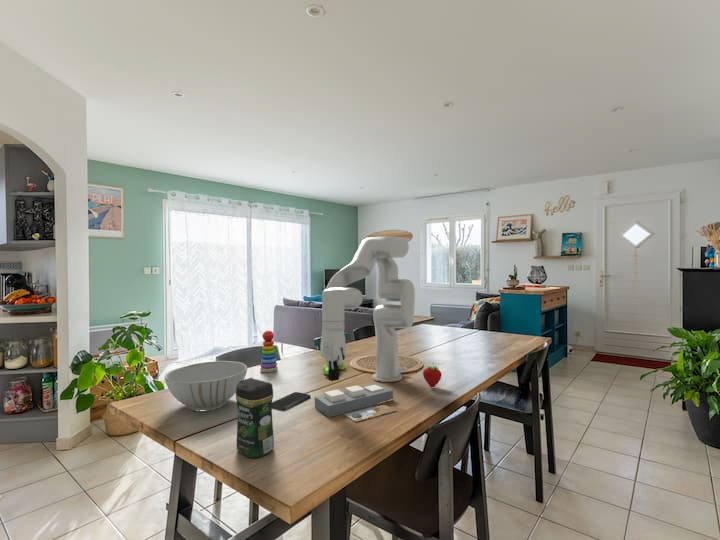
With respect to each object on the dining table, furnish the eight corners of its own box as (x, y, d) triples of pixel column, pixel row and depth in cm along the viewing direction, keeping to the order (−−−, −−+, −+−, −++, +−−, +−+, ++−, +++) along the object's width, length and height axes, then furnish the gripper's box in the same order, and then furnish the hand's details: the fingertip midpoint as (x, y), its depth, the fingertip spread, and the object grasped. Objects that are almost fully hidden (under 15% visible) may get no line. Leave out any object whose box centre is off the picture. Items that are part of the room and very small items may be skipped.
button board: (376, 392, 140) (376, 383, 140) (393, 400, 132) (393, 390, 132) (314, 407, 126) (314, 396, 126) (328, 417, 118) (328, 405, 118)
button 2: (375, 394, 137) (375, 384, 137) (383, 397, 132) (383, 388, 132) (364, 396, 134) (363, 387, 134) (371, 400, 130) (371, 390, 130)
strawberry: (426, 383, 149) (426, 359, 149) (444, 387, 145) (444, 362, 145) (420, 387, 145) (419, 362, 144) (438, 391, 140) (437, 365, 140)
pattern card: (384, 404, 128) (384, 403, 128) (397, 411, 122) (397, 409, 122) (344, 415, 119) (344, 413, 119) (356, 422, 113) (356, 421, 113)
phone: (311, 395, 136) (283, 408, 123) (311, 398, 136) (283, 412, 123) (295, 391, 140) (266, 404, 127) (295, 394, 140) (266, 407, 127)
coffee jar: (231, 451, 97) (230, 380, 96) (256, 439, 103) (255, 373, 103) (254, 462, 91) (253, 387, 91) (279, 449, 97) (278, 379, 97)
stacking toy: (281, 369, 173) (280, 330, 173) (268, 374, 166) (267, 332, 166) (269, 367, 177) (268, 328, 177) (256, 371, 170) (255, 331, 170)
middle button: (357, 394, 132) (356, 385, 132) (364, 398, 128) (364, 388, 128) (345, 397, 130) (344, 387, 130) (352, 402, 125) (352, 391, 125)
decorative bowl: (210, 425, 113) (210, 386, 113) (146, 414, 122) (145, 378, 122) (262, 396, 138) (262, 363, 138) (206, 388, 147) (205, 358, 147)
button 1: (337, 399, 128) (337, 389, 128) (344, 403, 124) (344, 393, 124) (324, 402, 125) (324, 392, 125) (331, 407, 121) (331, 396, 121)
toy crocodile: (334, 378, 159) (333, 364, 159) (319, 377, 161) (319, 363, 161) (346, 366, 178) (346, 353, 178) (333, 365, 180) (333, 353, 180)
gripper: (313, 323, 128) (313, 376, 128) (334, 329, 116) (334, 387, 116) (332, 322, 133) (332, 373, 132) (354, 327, 120) (354, 383, 120)
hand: (333, 379), depth 124 cm, fingers closed
